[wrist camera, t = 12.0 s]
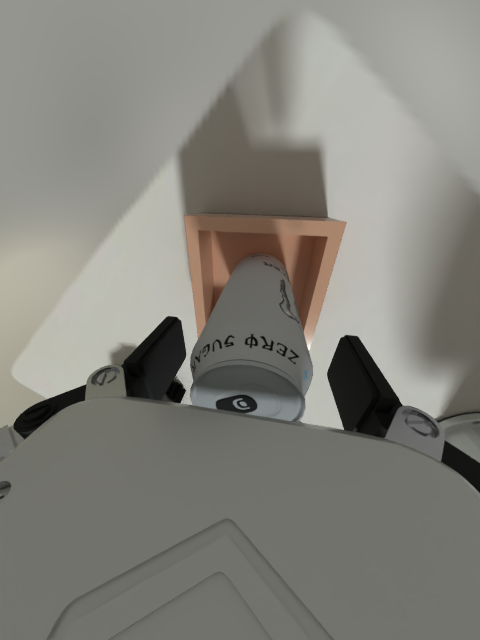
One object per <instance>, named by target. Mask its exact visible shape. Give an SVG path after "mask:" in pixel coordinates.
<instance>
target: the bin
mask: <svg viewBox="0 0 480 640" xmlns="http://www.w3.org/2000/svg"><path fill="white" fill-rule="evenodd" d="M184 219H185V228H186V237H187V246H188V254H189V263H190V272H191V281H192V289H193V298H194V307H195V315H196V324H197V333H198V339H199V337H200V335H201V333H202V331H203V329H204V327H205V325H206V323H207V321H208V319H209V317H210V315H211V313H212V311H213V309H214V307H215V305H216V303H217V301H218V299H219V297H220V295H221V293H222V291H223V289H224V287H225V285H226V283H227V281H228V279H229V277H230V276H231V274H232V272H233V270H234V268H235V266H236V265H237V264H238V263H239V262H240V261H241V260H242V259H243V258H245V257H247V256H249V255H252V254H257V253H264V254H268V255H271V256H273V257H275V258H277V259H278V260H280V261H281V262H282V264H283V265H284V266H285V268H286V270H287V273H288V276H289V280H290V283H291V287H292V291H293V295H294V298H295V302H296V306H297V310H298V313H299V317H300V321H301V325H302V328H303V332H304V336H305V339H306V343H307V347H308V351H309V349H310V346H311V342H312V339H313V335H314V332H315V328H316V325H317V322H318V318H319V315H320V311H321V308H322V305H323V301H324V298H325V294H326V291H327V288H328V284H329V281H330V277H331V274H332V271H333V267H334V264H335V260H336V257H337V254H338V250H339V247H340V243H341V240H342V236H343V233H344V230H345V226H346V223H347V222H345V221H340V220H336V219H332V218H326V217H300V216H274V215H248V214H223V213H198V214H191V215H184Z"/></svg>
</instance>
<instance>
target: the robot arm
mask: <svg viewBox="0 0 480 640" xmlns="http://www.w3.org/2000/svg"><path fill="white" fill-rule="evenodd" d="M185 358H186V349H185V343H184V336H183V330H182V324H181V320H179V319H178V318H177V317H170V316H168V317H166V318H165V319H164V320H163V321H162V322H161V323H160V324H159V326H158V327H157V328H156V329H155V330H154V331H153V332H152V333H151V334H150V335H149V336H148V337H147V338H146V339H145V340H144V341H143V342H142V343H141V344H140V345H139V346H138V347H137V348H136V349H135V350H134V351H133V353H132V354H131V355H130V356H129V357H128V358H127V359H126V360H125V361H124V364H123V365H122V366H119V365H108V366H104V367H102V368H100V369H98V370H96V371H95V372H93V373H92V374H91V375H90V376H89V378H88V380H87V384H86V385H83V386H81V387H78V388H76V389H73V390H70V391H68V392H65V393H62V394H60V395H57V396H55V397H52V398H49V399H47V400H44V401H41V402H39V403H37V404H35V405H33V406H31V407H30V408H28V409H27V410H25V411H24V412H23V413H22V414H20V416H19V417H18V418H17V419H16V421H15V423H14V425H13V426H11V427H9V426H8V425H6V426H4V427H3V428H0V640H480V413H472V414H465V415H460V416H456V417H452V418H449V419H446V420H443V421H441V422H439V423H438V422H437V421H436V420H435V419H433V418H432V417H431V416H430V415H428V414H427V413H425V412H424V411H421V410H419V409H417V408H414V407H411V406H403V405H402V404H401V402H400V401H399V398H398V397H397V395H396V394H395V392H394V391H393V389H392V388H391V386H390V385H389V383H388V382H387V380H386V379H385V377H384V375H383V374H382V372H381V371H380V369H379V368H378V366H377V365H376V363H375V362H374V360H373V359H372V357H371V356H370V354H369V353H368V351H367V350H366V348H365V346H364V345H363V343H362V342H361V340H360V339H359V337H358V336H350V335H345V336H344V337H341V338H340V341H339V343H338V346H337V349H336V351H335V354H334V356H333V359H332V362H331V364H330V367H329V369H328V373H327V377H328V380H329V383H330V387H331V390H332V393H333V396H334V399H335V402H336V405H337V408H338V412H339V415H340V418H341V421H342V424H343V427H344V430H341V429H335V428H330V427H324V426H318V425H312V424H306V423H300V422H294V421H288V420H281V419H275V418H269V417H263V416H257V415H250V414H244V413H238V412H232V411H225V410H219V409H213V408H206V407H200V406H193V405H187V404H180V403H174V402H167V401H161V400H162V398H163V396H164V395H165V393H166V391H167V389H168V388H169V386H170V384H171V383H172V381H173V379H174V377H175V376H176V374H177V372H178V370H179V369H180V367H181V365H182V363H183V362H184V360H185Z"/></svg>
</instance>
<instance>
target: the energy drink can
mask: <svg viewBox="0 0 480 640" xmlns="http://www.w3.org/2000/svg"><path fill="white" fill-rule="evenodd" d="M190 366H191V372H192V376H193V384H192V387H191V392H190V397H191V401H192V404H193V406H200V407H206V408H213V409H219V410H225V411H232V412H238V413H244V414H250V415H257V416H263V417H269V418H275V419H281V420H288V421H294V422H299V421H300V419H301V418H302V416H303V414H304V411H305V398H304V396H305V394H306V392H307V390H308V388H309V386H310V384H311V380H312V376H313V366H312V362H311V358H310V354H309V351H308V347H307V343H306V339H305V336H304V332H303V328H302V325H301V321H300V317H299V313H298V310H297V306H296V302H295V298H294V295H293V291H292V287H291V283H290V280H289V276H288V273H287V270H286V268H285V266H284V265H283V264H282V262H281V261H280V260H278V259H277V258H275V257H273V256H271V255H268V254H264V253H257V254H252V255H249V256H247V257H245V258H243V259H242V260H241V261H240V262H239V263H238V264H237V265H236V266H235V268H234V270H233V272H232V274H231V276H230V277H229V279H228V281H227V283H226V285H225V287H224V289H223V291H222V293H221V295H220V297H219V299H218V301H217V303H216V305H215V307H214V309H213V311H212V313H211V315H210V317H209V319H208V321H207V323H206V325H205V327H204V329H203V331H202V333H201V335H200V337H199V339H198V341H197V343H196V344H195V346H194V348H193V351H192V354H191V362H190Z"/></svg>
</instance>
